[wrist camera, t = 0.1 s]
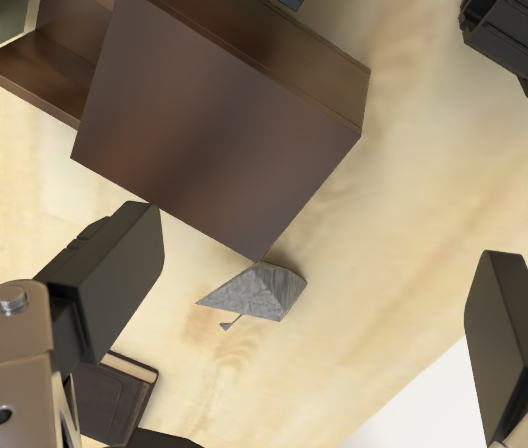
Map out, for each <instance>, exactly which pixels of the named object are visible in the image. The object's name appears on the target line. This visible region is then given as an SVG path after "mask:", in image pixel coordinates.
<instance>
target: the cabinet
mask: <svg viewBox="0 0 528 448" xmlns="http://www.w3.org/2000/svg"><path fill="white" fill-rule="evenodd" d="M370 73H371V70H370V69H369V68H367V67H366V66H364V65H363V64H361V63H360V62H358V61H357V60H355V59H354V58H352V57H351V56H349V55H347V54H346V53H344V52H343V51H341V50H340V49H338V48H337V47H335V46H334V45H332V44H331V43H329V42H328V41H326V40H325V39H323V38H322V37H320V36H319V35H317V34H316V33H314V32H313V31H311V30H310V29H308V28H307V27H305V26H304V25H302V24H301V23H299V22H298V21H296V20H295V19H293V18H292V17H290V16H289V15H287V14H286V13H284V12H283V11H281V10H279V9H278V8H276V7H275V6H273V5H272V4H270V3H269V2H267V1H266V0H115V3H114V7H113V10H112V14H111V17H110V21H109V24H108V28H107V31H106V35H105V38H104V42H103V45H102V49H101V52H100V55H99V59H98V62H97V66H96V69H95V73H94V76H93V80H92V83H91V87H90V90H89V94H88V97H87V101H86V104H85V108H84V111H83V115H82V118H81V122H80V125H79V128H78V132H77V135H76V139H75V142H74V146H73V149H72V153H71V156H70V158H71V159H73V160H74V161H76V162H78V163H80V164H81V165H83V166H85V167H87V168H89V169H90V170H92V171H94V172H96V173H97V174H99V175H101V176H103V177H105V178H106V179H108V180H110V181H112V182H113V183H115V184H117V185H119V186H121V187H122V188H124V189H126V190H128V191H129V192H131V193H133V194H135V195H137V196H138V197H140V198H142V199H144V200H145V201H147V202H149V203H151V204H156V205H157V206H158V208H160V209H161V210H163V211H165V212H167V213H168V214H170V215H172V216H174V217H176V218H177V219H179V220H181V221H183V222H184V223H186V224H188V225H190V226H192V227H193V228H195V229H197V230H199V231H200V232H202V233H204V234H206V235H208V236H209V237H211V238H213V239H215V240H216V241H218V242H220V243H222V244H224V245H225V246H227V247H229V248H231V249H232V250H234V251H236V252H238V253H240V254H241V255H243V256H245V257H247V258H248V259H250V260H252V261H254V262H256V263H258V262H259V261H260V259H261V258H262V257H263V256H264V255H265V253H266V252H267V251H268V250H269V248H270V247H271V246H272V245H273V244H274V242H275V241H276V240H277V239H278V237H279V236H280V235H281V234H282V233H283V231H284V230H285V229H286V228H287V227H288V225H289V224H290V223H291V222H292V220H293V219H294V218H295V217H296V216H297V214H298V213H299V212H300V211H301V209H302V208H303V207H304V206H305V205H306V203H307V202H308V201H309V200H310V198H311V197H312V196H313V195H314V194H315V192H316V191H317V190H318V189H319V187H320V186H321V185H322V184H323V183H324V181H325V180H326V179H327V178H328V176H329V175H330V174H331V173H332V172H333V170H334V169H335V168H336V167H337V165H338V164H339V163H340V162H341V161H342V159H343V158H344V157H345V156H346V154H347V153H348V152H349V151H350V150H351V148H352V147H353V146H354V145H355V143H356V142H357V141H358V140H359V139H360V137H361V133H362V125H363V118H364V111H365V105H366V98H367V92H368V85H369V78H370Z"/></svg>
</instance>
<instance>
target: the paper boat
mask: <svg viewBox="0 0 528 448" xmlns="http://www.w3.org/2000/svg"><path fill="white" fill-rule="evenodd" d="M306 285H307V283H306V282H305V281H304V280H303V279H302V278H301V277H299V276H298V275H296V274H295V273H293V272H292V271H290V270H288V269H285V268H282V267H279V266H276V265H273V264H270V263H267V262H264V261H259V262H258V263H256V264H254V265H252V266H250V267H249V268H247V269H246V270H244V271H243V272H241V273H240V274H238V275H237V276H235V277H234V278H232V279H231V280H229V281H228V282H226V283H225V284H223V285H222V286H220V287H219V288H217V289H216V290H214V291H213V292H211V293H210V294H208V295H207V296H205V297H204V298H202V299H201V300H199V301H198V302H196V303H195V304H199V305H204V306H208V307H213V308H218V309H222V310H227V311H232V312H237V313H241V315H240V316H239V317H238V318H237V319H236V320H238V319H239V318H240V317H241V316H242V315H244V314H246V315H251V316H256V317H260V318H265V319H270V320H275V321H279V322H280V321H281V320H282V319H283V317H284V316H285V315H286V314H287V312H288V311H289V309H290V308H291V306H292V305H293V304H294V302H295V301H296V299H297V298H298V297H299V295H300V294H301V292H302V291H303V289H304V288H305V287H306ZM236 320H235V321H236ZM235 321H233V322H232V323H221V324H220V326H221V327H222V328H223V329H224V330H225V331H226V330H227V329H228V328H229V327H230V326H231V325H232V324H233V323H234V322H235Z"/></svg>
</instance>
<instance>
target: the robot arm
mask: <svg viewBox="0 0 528 448" xmlns="http://www.w3.org/2000/svg"><path fill="white" fill-rule="evenodd" d="M164 258H165V254H164V244H163V235H162V226H161V217H160V210H159V208H158V206H157V205H156V204H150V203H143V202H136V201H126V202H125V203H124V204H123V205H122V206H121V207H120V208H119V209H118V210H117V211H116V212H115V213H114V214H113V215H112V216H111V217H109V216H106V217H104V218H102V219H100V220H98V221H96V222H94V223H92V224H90V225H88V226H87V227H86V228H85V229H84V230H83V231H82V232H81V233H80V234H79V235H78V236H77V239H74V240H73V241H71V242H70V243H69V244H68V245H67V248H66V249H65V248H64V249H63V250H62V251H61V252H60V253H59V254H58V255H57V256H56V257H55V258H54V259H52V260H51V261H50V262H49V263H48V264H47V265H46V266H45V267H44V268H43V269H42V270H41V271H40V272H39V273H38V274H37V275H36V276H34V277H33V278H32V279H20V280H13V281H9V282H5V283H3V284H0V448H82V443H81V436H80V428H79V421H78V413H77V406H76V398H75V391H74V383H73V378H72V375H71V372H72V371H73V369H74V368H75V367H76V365H77V364H83V365H88V366H93V367H98V365H99V364H100V362H101V361H102V359H103V358H104V356H105V355H106V353H107V352H108V351H109V349H110V348H111V346H112V345H113V343H114V342H115V340H116V339H117V337H118V336H119V335H120V333H121V332H122V330H123V329H124V327H125V326H126V324H127V323H128V321H129V320H130V319H131V317H132V316H133V314H134V313H135V311H136V310H137V308H138V307H139V305H140V304H141V303H142V301H143V300H144V298H145V297H146V295H147V294H148V292H149V291H150V289H151V288H152V287H153V285H154V284H155V282H156V281H157V279H158V278H159V276H160V274H161V272H162V269H163V265H164ZM464 328H465V334H466V339H467V344H468V349H469V355H470V360H471V366H472V371H473V376H474V381H475V387H476V392H477V397H478V403H479V408H480V413H481V418H482V423H483V429H484V434H485V440H486V444H487V448H528V268H527V266H526V263H525V261H524V259H523V257H522V255H520V254H514V253H507V252H499V251H492V250H484V251H483V253H482V255H481V257H480V260H479V263H478V266H477V269H476V273H475V276H474V279H473V282H472V285H471V288H470V292H469V295H468V298H467V301H466V305H465V312H464ZM104 448H204V447H202V446H200V445H198V444H196V443H195V442H193V441H191V440H189V439H187V438H182V437H178V436H173V435H169V434H165V433H160V432H156V431H152V430H147V429H143V428H138V427H135V429H134V431H133V432H132V434H131V436H130V438H129V440H128V442H127V444H124V445H114V446H108V447H104Z"/></svg>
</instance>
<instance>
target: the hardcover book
mask: <svg viewBox="0 0 528 448" xmlns="http://www.w3.org/2000/svg"><path fill="white" fill-rule="evenodd" d="M71 375H72V378H73V383H74V391H75V398H76V406H77V413H78V421H79V428H80V434H82V435H84V436H87V437H89V438H92V439H94V440H97V441H99V442H102V443H104V444H107V445H109V446H114V445H124V444H127V442H128V440H129V438H130V436H131V434H132V432H133V431H134V429H135V427H138V425H139V422H140V420H141V417H142V415H143V412H144V410H145V408H146V405H147V403H148V400H149V398H150V395H151V393H152V390H153V388H154V385H155V383H156V380H157V378H158V372H157V370H156V369H153V368H151V367H149V366H146V365H144V364H141V363H139V362H137V361H134V360H132V359H129V358H127V357H125V356H122V355H120V354H117V353H115V352H113V351H110V350H109V351H108V352H107V353H106V355H105V356H104V358H103V359H102V361H101V362H100V364H99V365H98V367H93V366H88V365H83V364H77V365H76V367H75V368H74V369H73V371H72V372H71Z"/></svg>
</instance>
